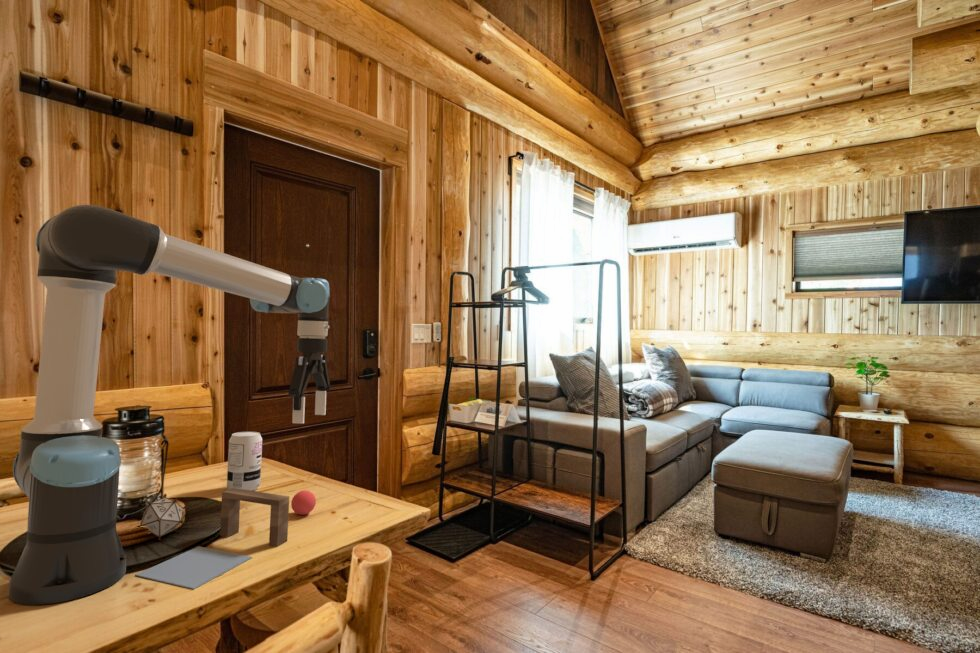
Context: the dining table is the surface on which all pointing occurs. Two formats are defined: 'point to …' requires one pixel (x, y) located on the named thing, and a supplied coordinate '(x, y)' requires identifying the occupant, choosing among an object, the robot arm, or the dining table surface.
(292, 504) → the ball
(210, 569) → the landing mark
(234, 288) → the robot arm
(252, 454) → the supplement can
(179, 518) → the game die
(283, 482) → the dining table surface
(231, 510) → the bridge
